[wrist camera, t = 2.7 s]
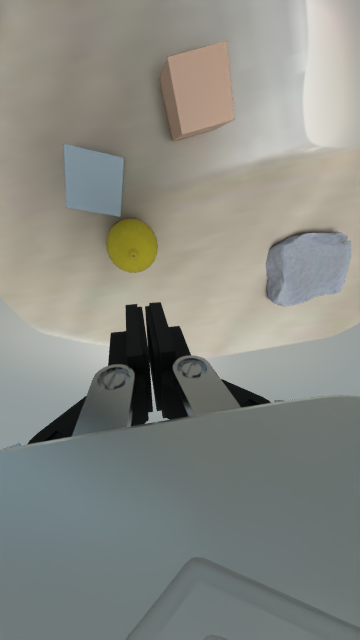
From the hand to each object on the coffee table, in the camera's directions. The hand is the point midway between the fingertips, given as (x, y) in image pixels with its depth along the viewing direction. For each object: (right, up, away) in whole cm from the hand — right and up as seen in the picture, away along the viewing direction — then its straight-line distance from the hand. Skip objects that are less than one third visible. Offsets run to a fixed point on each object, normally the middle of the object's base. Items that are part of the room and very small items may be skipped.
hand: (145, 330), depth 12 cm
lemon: (-4, +11, +18) cm, 22 cm away
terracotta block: (+3, +23, +13) cm, 26 cm away
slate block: (-7, +16, +15) cm, 23 cm away
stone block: (+20, +9, +25) cm, 34 cm away
